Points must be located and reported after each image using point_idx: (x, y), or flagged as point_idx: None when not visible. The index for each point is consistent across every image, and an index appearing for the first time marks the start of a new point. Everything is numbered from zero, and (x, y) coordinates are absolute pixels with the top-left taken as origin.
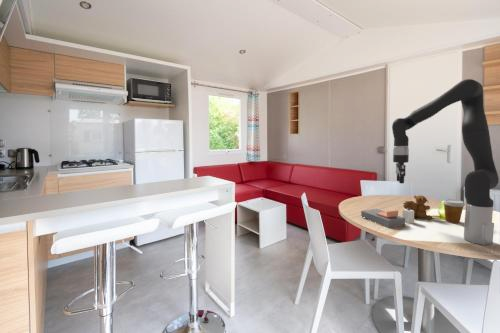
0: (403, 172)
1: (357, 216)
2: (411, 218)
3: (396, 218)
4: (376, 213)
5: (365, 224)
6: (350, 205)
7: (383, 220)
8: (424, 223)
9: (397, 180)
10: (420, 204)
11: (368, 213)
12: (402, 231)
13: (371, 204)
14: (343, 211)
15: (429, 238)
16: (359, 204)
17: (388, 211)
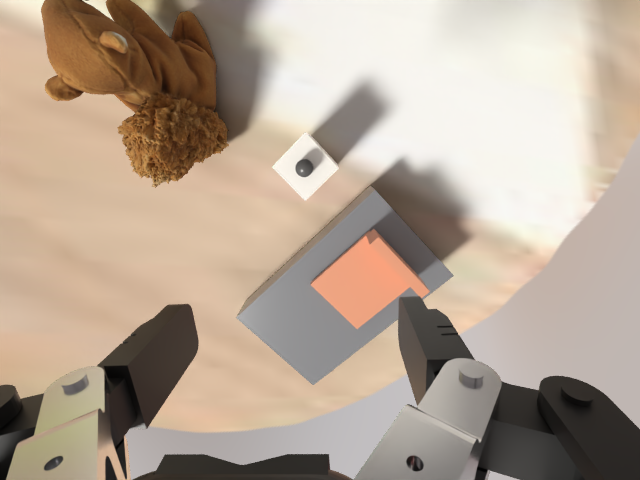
0: (477, 462)
1: None
2: (323, 149)
3: (401, 235)
4: (358, 326)
5: None
6: None
7: None
8: (306, 80)
9: (194, 347)
10: (150, 66)
11: (349, 356)
12: (478, 206)
13: (43, 316)
14: (251, 428)
15: (552, 98)
16: None
17: (420, 291)
